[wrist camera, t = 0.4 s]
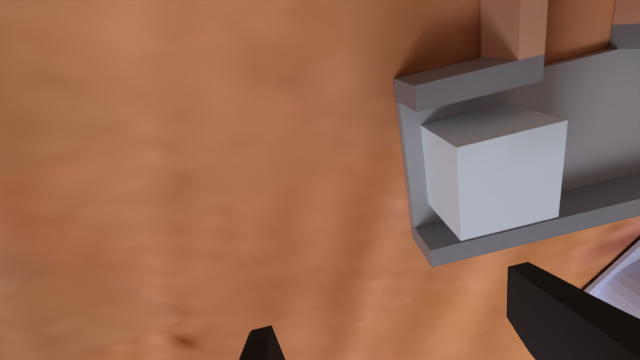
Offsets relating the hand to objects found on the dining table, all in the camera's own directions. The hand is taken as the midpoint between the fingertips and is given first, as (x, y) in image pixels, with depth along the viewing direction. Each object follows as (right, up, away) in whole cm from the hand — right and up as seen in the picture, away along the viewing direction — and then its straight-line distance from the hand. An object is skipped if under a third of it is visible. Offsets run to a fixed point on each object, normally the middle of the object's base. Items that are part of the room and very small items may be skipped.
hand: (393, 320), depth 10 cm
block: (+6, +6, +9) cm, 12 cm away
